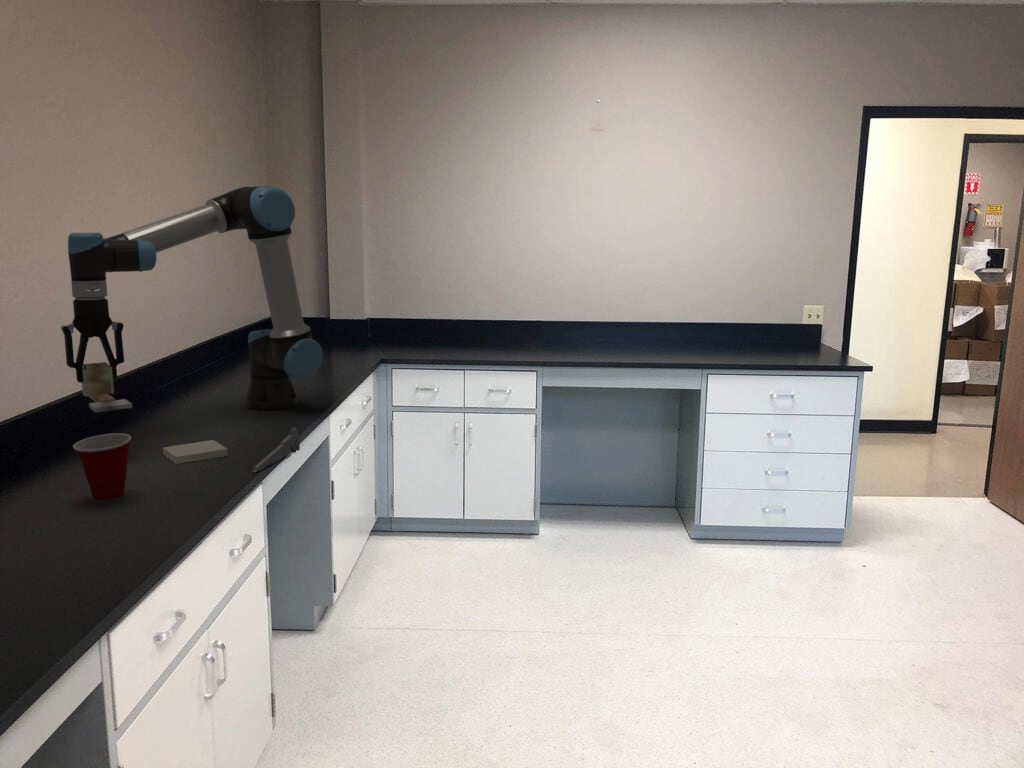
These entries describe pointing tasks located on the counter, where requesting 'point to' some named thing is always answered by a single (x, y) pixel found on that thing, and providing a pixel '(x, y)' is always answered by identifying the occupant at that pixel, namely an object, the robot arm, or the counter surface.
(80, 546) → the counter surface
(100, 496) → the plastic cup
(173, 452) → the tile
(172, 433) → the counter surface
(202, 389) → the counter surface
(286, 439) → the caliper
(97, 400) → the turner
